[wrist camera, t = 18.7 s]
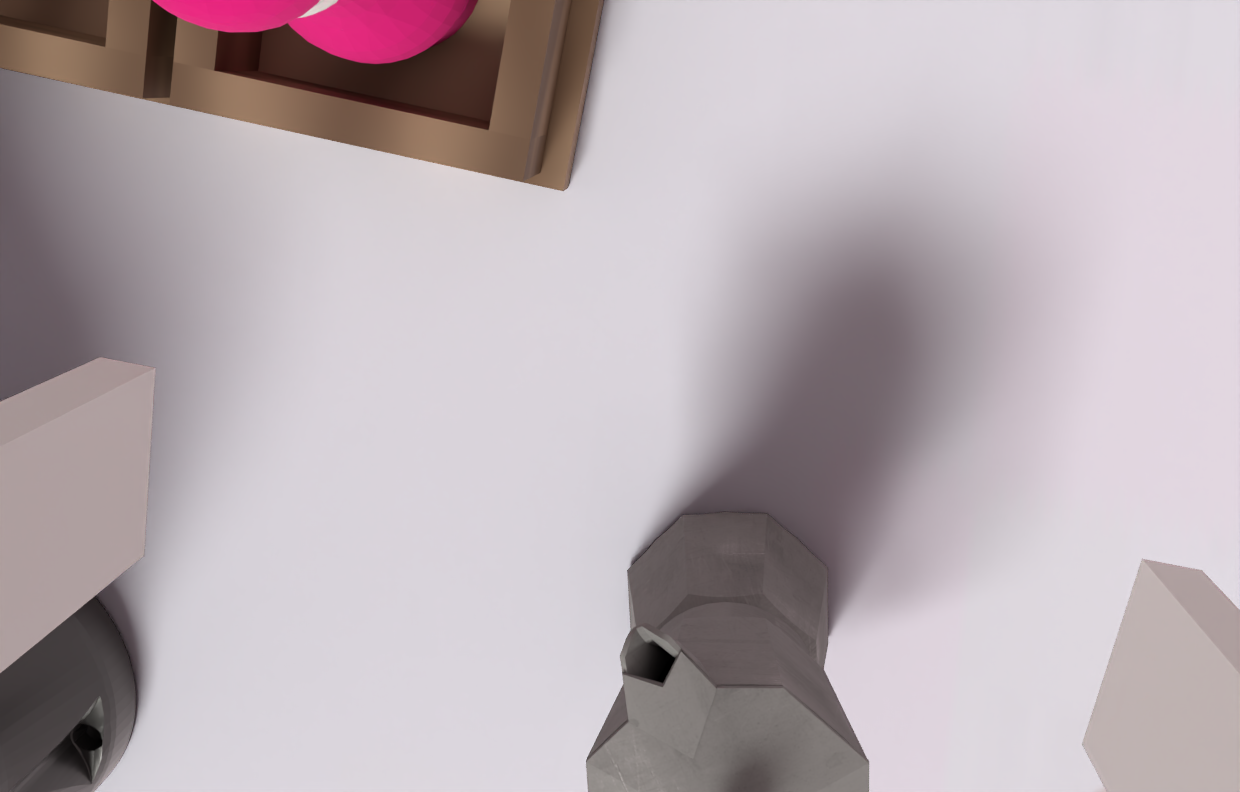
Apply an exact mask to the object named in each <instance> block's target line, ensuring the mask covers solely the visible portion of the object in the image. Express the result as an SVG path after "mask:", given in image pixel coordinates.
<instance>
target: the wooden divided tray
mask: <svg viewBox="0 0 1240 792" xmlns="http://www.w3.org/2000/svg"><path fill="white" fill-rule="evenodd" d="M603 3H604V0H478V1H477V3H476V6H475V8H474V10H473V12H472V14H471V15H470V17H469V18H468V19H467V21H466V22H465V23H464V25H463V26H462V27H461V28H460V29H459V30H458V31H457V32H456V33H455V34H454V35H452V36H451V37H449V38H448V39H446V40H444V41H443V42H441V43H439V44H438V45H435V46H432V47H430V48H428V49H426V50H425V51H423V52H421V53H419V54H417V55H415V56H412V57H410V58H408V59H404V60H400V61H396V62H392V63H381V64H370V63H359V62H355V61H352V60H348V59H344V58H341V57H338V56H335V55H333V54H330V53H328V52H326V51H324V50H322V49H321V48H319V47H317V46H315V45H313V44H311V43H309V42H308V41H307V40H305V39H304V38H303V37H302V36H301V35H299V34H298V33H297V32H296V31H295V30H293V29H292V28H291V27H290V25H289V24H288V23H286V24H284V25H283V26H281V27H277V28H273V29H268V30H264V31H259V32H224V31H218V30H212V29H207V28H204V27H201V26H198V25H196V24H193V23H190V22H187V21H184V20H183V19H181V18H179V17H177V16H175V15H173V14H171V13H169V12H168V11H166V10H165V9H163V8H162V7H161V6H159V5H158V4H157V3H155V2H154V1H153V0H0V68H3V69H7V70H12V71H17V72H21V73H26V74H30V75H35V76H39V77H44V78H49V79H53V80H58V81H62V82H67V83H71V84H76V85H81V86H85V87H90V88H94V89H99V90H103V91H108V92H113V93H117V94H122V95H126V96H131V97H135V98H140V99H145V100H149V101H154V102H158V103H163V104H167V105H172V106H177V107H181V108H186V109H190V110H195V111H199V112H204V113H209V114H213V115H218V116H222V117H227V118H231V119H236V120H241V121H245V122H250V123H254V124H259V125H263V126H268V127H273V128H277V129H282V130H286V131H291V132H296V133H300V134H305V135H309V136H314V137H318V138H323V139H328V140H332V141H337V142H341V143H346V144H350V145H355V146H360V147H364V148H369V149H373V150H378V151H382V152H387V153H392V154H396V155H401V156H405V157H410V158H414V159H419V160H424V161H428V162H433V163H437V164H442V165H446V166H451V167H456V168H460V169H465V170H469V171H474V172H478V173H483V174H488V175H492V176H497V177H501V178H506V179H510V180H515V181H520V182H524V183H529V184H533V185H538V186H542V187H547V188H552V189H556V190H561V191H564V190H565V189H567V188H568V186H569V181H570V176H571V170H572V165H573V160H574V155H575V149H576V144H577V139H578V134H579V128H580V123H581V118H582V113H583V108H584V102H585V97H586V92H587V87H588V81H589V76H590V71H591V66H592V60H593V55H594V50H595V45H596V40H597V34H598V29H599V24H600V19H601V13H602V8H603Z"/></svg>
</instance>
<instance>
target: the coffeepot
mask: <svg viewBox="0 0 1240 792" xmlns="http://www.w3.org/2000/svg"><path fill="white" fill-rule="evenodd" d="M627 573H628V591H629V609H630V627H631V631H630V633H629V634H628V636H627V638H626V641H625V643H624V646H623V649H622V652H621V655H620V659H621V666H622V675H623V683H624V684H623V686H622V688H621V690H620V692H619V694H618V696H617V698H616V700H615V702H614V704H613V706H612V708H611V711H610V713H609V715H608V717H607V719H606V721H605V723H604V725H603V727H602V729H601V731H600V733H599V735H598V737H597V739H596V741H595V743H594V745H593V747H592V749H591V751H590V753H589V755H588V757H587V760H586V768H587V782H588V792H869V761H868V759H867V758H866V756H865V754H864V752H863V750H862V747H861V745H860V743H859V741H858V739H857V737H856V735H855V733H854V731H853V729H852V727H851V725H850V723H849V721H848V719H847V717H846V715H845V712H844V710H843V708H842V706H841V704H840V702H839V700H838V698H837V696H836V694H835V692H834V690H833V688H832V686H831V684H830V682H829V679H828V677H827V675H826V673H825V671H824V664H825V658H826V652H827V647H828V568H827V567H826V566H825V565H824V564H823V563H822V562H821V561H820V560H819V559H817V558H816V557H815V556H814V555H813V554H812V553H811V552H810V551H809V550H808V549H807V548H806V547H805V546H804V545H803V544H802V543H801V542H800V541H799V540H798V539H797V538H796V537H795V536H794V535H792V534H791V533H790V532H788V531H787V530H785V529H784V528H783V527H782V526H781V525H779V524H778V523H777V522H776V521H775V520H774V519H773V518H772V517H771V516H769V515H768V514H767V513H737V512H717V513H708V514H701V515H682V516H681V517H680V518H679V519H678V520H677V521H676V522H675V523H674V524H673V525H672V526H671V527H670V528H669V529H668V530H667V531H666V532H665V533H663V534H662V535H661V536H660V537H659V538H657V539H656V540H655V541H654V542H653V544H652V545H651V546H650V547H649V549H648V550H647V551H646V552H645V553H644V554H643V555H642V556H641V557H640V558H639V559H638V560H637V561H636V562H635V563H634V564H633V565H632V566H631V567H630V568H629V569H628V570H627Z"/></svg>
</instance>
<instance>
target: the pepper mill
mask: <svg viewBox="0 0 1240 792" xmlns="http://www.w3.org/2000/svg"><path fill="white" fill-rule="evenodd" d="M153 1H154V2H155V3H157V4H158V5H159V6H161V7H162V8H163V9H165V10H166V11H168V12H169V13H171V14H173V15H175V16H177V17H179V18H181V19H183V20H184V21H187V22H190V23H193V24H196V25H198V26H201V27H204V28H207V29H212V30H218V31H224V32H259V31H264V30H268V29H273V28H277V27H281V26H283V25H284V24H286V23H288V24H289V25H290V27H291V28H292V29H293V30H295V31H296V32H297V33H298V34H299V35H301V36H302V37H303V38H304V39H305V40H307V41H308V42H309V43H311V44H313V45H315V46H317V47H319V48H321V49H322V50H324V51H326V52H328V53H330V54H333V55H335V56H338V57H341V58H344V59H348V60H352V61H355V62H359V63H370V64H381V63H392V62H396V61H400V60H404V59H408V58H410V57H412V56H415V55H417V54H419V53H421V52H423V51H425V50H426V49H428V48H430V47H432V46H435V45H438V44H439V43H441V42H443V41H444V40H446V39H448V38H449V37H451V36H452V35H454V34H455V33H456V32H457V31H458V30H459V29H460V28H461V27H462V26H463V25H464V23H465V22H466V21H467V19H468V18H469V17H470V15H471V14H472V12H473V10H474V8H475V6H476V3H477V1H478V0H153Z"/></svg>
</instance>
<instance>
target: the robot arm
mask: <svg viewBox="0 0 1240 792" xmlns="http://www.w3.org/2000/svg"><path fill="white" fill-rule="evenodd" d="M154 385H155V368H154V367H149V366H144V365H139V364H133V363H128V362H123V361H118V360H113V359H108V358H102V357H99V358H97V359H95V360H92V361H90V362H88V363H86V364H83V365H81V366H79V367H77V368H74V369H72V370H70V371H68V372H65V373H63V374H61V375H59V376H56V377H54V378H52V379H50V380H48V381H45V382H43V383H41V384H39V385H36V386H34V387H32V388H30V389H27V390H25V391H23V392H21V393H18V394H16V395H14V396H12V397H9V398H7V399H5V400H3V401H0V792H94V791H95V790H96V789H97V788H98V787H99V786H100V785H101V783H102V782H103V781H104V780H105V779H106V778H107V777H108V776H109V774H110V773H111V772H112V771H113V769H114V768H115V767H116V765H117V764H118V762H119V761H120V759H121V757H122V756H123V754H124V751H125V749H126V747H127V745H128V742H129V739H130V736H131V733H132V729H133V724H134V719H135V709H136V692H135V682H134V676H133V671H132V667H131V663H130V660H129V656H128V653H127V651H126V648H125V645H124V643H123V641H122V639H121V636H120V634H119V632H118V630H117V629H116V627H115V625H114V623H113V621H112V620H111V618H110V617H109V615H108V614H107V612H106V611H105V609H104V608H103V607H102V605H101V604H100V603H99V601H98V600H97V599H96V598H95V597H94V596H95V595H97V594H98V593H99V592H100V591H102V590H103V589H104V588H105V587H106V586H108V585H109V584H110V583H111V582H113V581H114V580H115V579H116V578H117V577H119V576H120V575H121V574H122V573H124V572H125V571H126V570H127V569H129V568H130V567H131V566H132V565H133V564H135V563H136V562H137V561H138V560H140V559H141V558H142V557H143V556H144V552H145V535H146V519H147V502H148V485H149V468H150V452H151V435H152V418H153V401H154ZM1082 745H1083V747H1084V749H1085V751H1086V753H1087V755H1088V757H1089V759H1090V761H1091V762H1092V764H1093V766H1094V768H1095V770H1096V772H1097V774H1098V776H1099V778H1100V780H1101V782H1102V783H1103V785H1104V787H1105V789H1106V791H1107V792H1240V610H1239V609H1238V608H1237V607H1236V606H1235V605H1234V604H1233V603H1232V602H1231V600H1230V599H1229V598H1228V597H1227V596H1226V595H1225V594H1224V593H1223V592H1222V591H1221V590H1220V589H1219V588H1218V587H1217V586H1216V585H1215V584H1214V583H1213V582H1212V580H1211V579H1210V578H1209V577H1208V576H1207V575H1206V574H1205V573H1204V572H1203V571H1202V570H1197V569H1192V568H1187V567H1182V566H1176V565H1171V564H1166V563H1161V562H1156V561H1151V560H1145V559H1142V561H1141V564H1140V567H1139V570H1138V573H1137V576H1136V579H1135V582H1134V585H1133V588H1132V591H1131V595H1130V598H1129V601H1128V604H1127V607H1126V610H1125V613H1124V616H1123V619H1122V622H1121V625H1120V628H1119V632H1118V635H1117V638H1116V641H1115V644H1114V647H1113V650H1112V653H1111V656H1110V659H1109V662H1108V665H1107V669H1106V672H1105V675H1104V678H1103V681H1102V684H1101V687H1100V690H1099V693H1098V696H1097V699H1096V702H1095V705H1094V709H1093V712H1092V715H1091V718H1090V721H1089V724H1088V727H1087V730H1086V733H1085V736H1084V739H1083V742H1082Z"/></svg>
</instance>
